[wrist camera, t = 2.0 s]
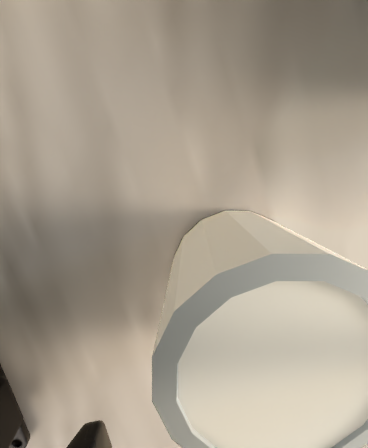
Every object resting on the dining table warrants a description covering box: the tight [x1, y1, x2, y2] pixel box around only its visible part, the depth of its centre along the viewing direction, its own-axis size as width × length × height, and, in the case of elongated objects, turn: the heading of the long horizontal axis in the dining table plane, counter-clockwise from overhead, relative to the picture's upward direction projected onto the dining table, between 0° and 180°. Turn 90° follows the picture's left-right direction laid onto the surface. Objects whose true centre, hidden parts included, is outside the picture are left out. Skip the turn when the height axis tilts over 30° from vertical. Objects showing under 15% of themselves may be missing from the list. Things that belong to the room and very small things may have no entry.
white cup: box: [152, 211, 368, 448], centre depth 11 cm, size 7×7×7 cm
